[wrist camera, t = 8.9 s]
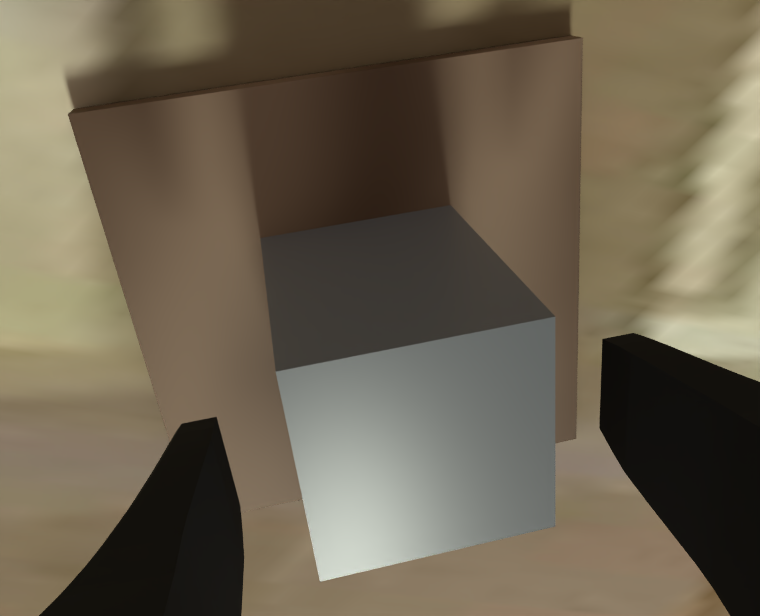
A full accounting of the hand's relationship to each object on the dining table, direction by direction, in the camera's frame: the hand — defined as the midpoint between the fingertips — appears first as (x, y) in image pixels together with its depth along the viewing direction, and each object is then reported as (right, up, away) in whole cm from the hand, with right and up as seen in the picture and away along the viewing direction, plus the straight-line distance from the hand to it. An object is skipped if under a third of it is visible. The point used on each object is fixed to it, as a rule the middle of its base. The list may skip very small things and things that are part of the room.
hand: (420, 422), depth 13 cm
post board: (-1, +2, +5) cm, 6 cm away
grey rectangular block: (-1, +2, +4) cm, 5 cm away
